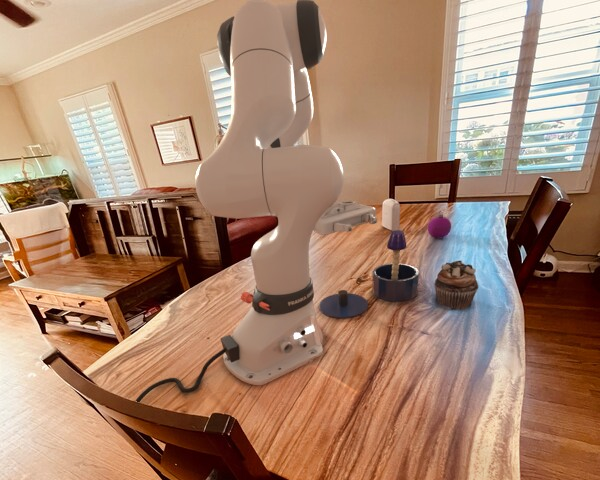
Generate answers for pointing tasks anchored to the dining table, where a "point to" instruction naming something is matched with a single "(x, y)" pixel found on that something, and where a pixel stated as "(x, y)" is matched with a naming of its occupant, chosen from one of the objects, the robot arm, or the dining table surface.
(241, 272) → the dining table surface
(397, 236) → the toy lamp
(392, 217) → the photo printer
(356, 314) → the pot lid
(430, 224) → the christmas ornament
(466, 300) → the cupcake
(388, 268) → the pot
